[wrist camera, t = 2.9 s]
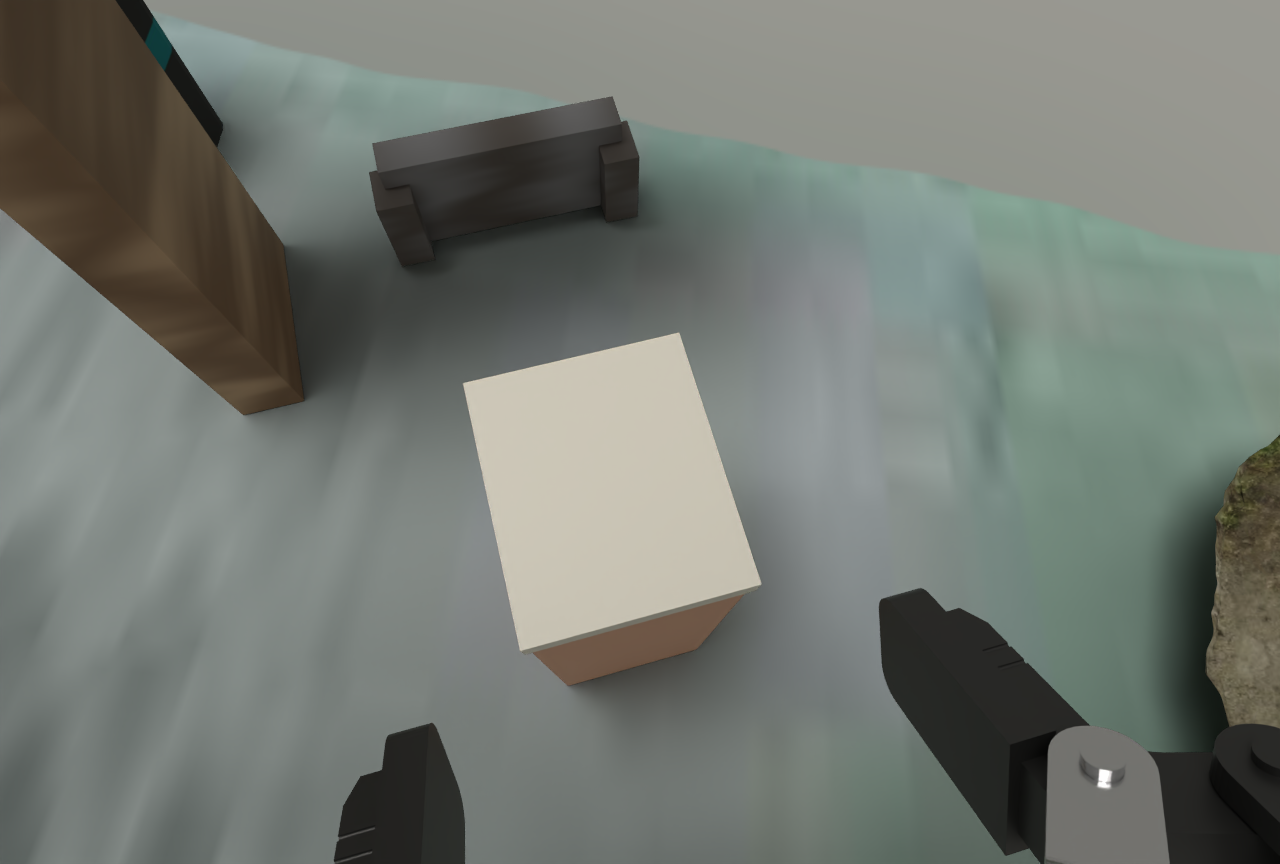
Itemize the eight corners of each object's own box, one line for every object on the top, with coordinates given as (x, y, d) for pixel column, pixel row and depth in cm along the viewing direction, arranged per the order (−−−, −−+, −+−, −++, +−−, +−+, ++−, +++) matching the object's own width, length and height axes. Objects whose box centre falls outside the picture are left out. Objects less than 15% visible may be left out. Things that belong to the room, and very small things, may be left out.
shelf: (243, 415, 33) (-517, -232, 11) (226, 256, 36) (-407, -516, 14) (670, 316, 35) (752, -390, 13) (623, 173, 38) (626, -609, 16)
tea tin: (566, 689, 29) (520, 650, 16) (529, 531, 31) (463, 383, 18) (700, 651, 30) (761, 584, 17) (655, 498, 32) (679, 332, 19)
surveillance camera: (-224, -158, 27) (65, -137, 27) (21, 103, 38) (226, 118, 38) (-306, -41, 25) (7, -19, 25) (-21, 198, 36) (195, 214, 36)
